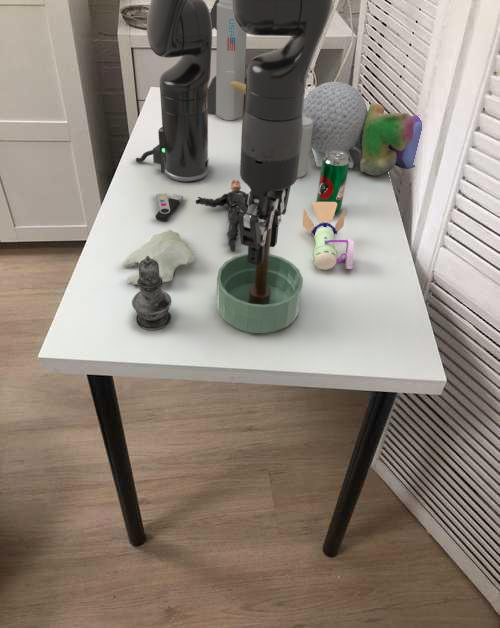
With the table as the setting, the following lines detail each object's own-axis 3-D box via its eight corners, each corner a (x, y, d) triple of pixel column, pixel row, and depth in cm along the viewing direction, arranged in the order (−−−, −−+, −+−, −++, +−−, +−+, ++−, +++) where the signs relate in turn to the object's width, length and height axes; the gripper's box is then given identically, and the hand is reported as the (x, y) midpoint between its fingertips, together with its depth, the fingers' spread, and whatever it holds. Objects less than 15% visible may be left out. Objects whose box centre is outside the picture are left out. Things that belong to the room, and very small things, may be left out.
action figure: (197, 237, 96) (194, 174, 110) (197, 256, 99) (194, 193, 113) (291, 236, 98) (276, 174, 112) (288, 254, 101) (274, 192, 115)
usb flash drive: (166, 221, 105) (166, 217, 105) (140, 216, 106) (140, 211, 106) (183, 199, 111) (183, 195, 111) (159, 194, 112) (159, 189, 112)
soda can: (339, 218, 109) (349, 162, 101) (313, 215, 110) (322, 158, 102) (341, 205, 113) (351, 150, 105) (316, 201, 114) (325, 146, 105)
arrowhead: (189, 289, 90) (204, 238, 101) (186, 272, 88) (201, 221, 99) (115, 289, 92) (138, 239, 103) (110, 273, 89) (134, 223, 101)
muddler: (244, 307, 88) (249, 227, 78) (253, 295, 90) (259, 216, 80) (264, 314, 87) (272, 234, 77) (272, 301, 89) (281, 222, 79)
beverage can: (281, 175, 121) (286, 122, 113) (288, 166, 124) (294, 113, 116) (302, 180, 120) (309, 127, 111) (309, 171, 123) (316, 118, 115)
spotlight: (302, 232, 106) (303, 201, 100) (346, 232, 105) (351, 202, 99) (302, 279, 98) (304, 249, 92) (350, 281, 98) (355, 250, 92)
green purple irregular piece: (422, 175, 130) (326, 139, 147) (444, 126, 126) (343, 94, 144) (395, 166, 120) (295, 128, 138) (418, 111, 116) (313, 80, 134)
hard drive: (310, 135, 132) (317, 160, 123) (344, 136, 133) (354, 161, 123) (309, 142, 133) (316, 167, 124) (343, 143, 134) (352, 168, 125)
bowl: (202, 319, 86) (202, 289, 82) (238, 272, 95) (239, 244, 91) (280, 346, 83) (284, 317, 79) (309, 295, 92) (314, 266, 88)
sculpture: (375, 165, 128) (417, 170, 123) (358, 177, 122) (402, 184, 117) (377, 98, 120) (422, 101, 115) (359, 108, 114) (406, 112, 109)
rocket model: (256, 109, 146) (264, -22, 125) (257, 121, 140) (265, -14, 120) (202, 107, 145) (201, -26, 125) (201, 118, 140) (200, -18, 119)
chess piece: (135, 306, 88) (127, 243, 80) (172, 305, 88) (169, 243, 80) (132, 332, 84) (124, 269, 75) (172, 331, 84) (168, 268, 76)
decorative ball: (393, 119, 120) (352, 76, 126) (357, 103, 109) (315, 58, 115) (348, 172, 128) (312, 130, 134) (311, 163, 117) (273, 118, 123)
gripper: (265, 117, 76) (257, 223, 88) (219, 161, 66) (217, 273, 78) (317, 129, 74) (302, 236, 86) (277, 176, 64) (266, 289, 76)
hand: (262, 253), depth 82 cm, fingers open, 4 cm apart
